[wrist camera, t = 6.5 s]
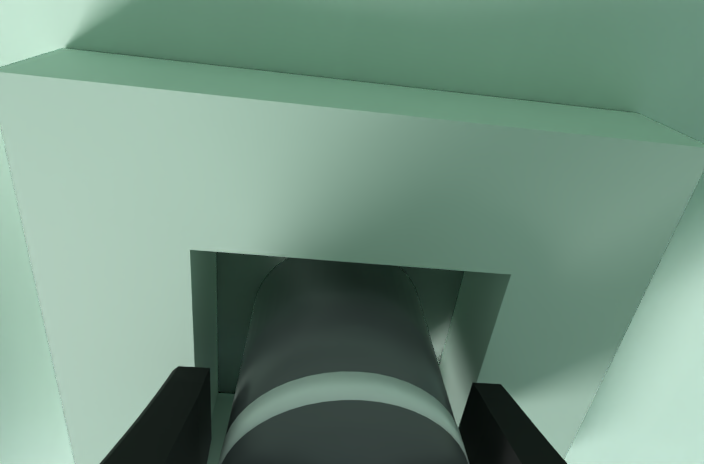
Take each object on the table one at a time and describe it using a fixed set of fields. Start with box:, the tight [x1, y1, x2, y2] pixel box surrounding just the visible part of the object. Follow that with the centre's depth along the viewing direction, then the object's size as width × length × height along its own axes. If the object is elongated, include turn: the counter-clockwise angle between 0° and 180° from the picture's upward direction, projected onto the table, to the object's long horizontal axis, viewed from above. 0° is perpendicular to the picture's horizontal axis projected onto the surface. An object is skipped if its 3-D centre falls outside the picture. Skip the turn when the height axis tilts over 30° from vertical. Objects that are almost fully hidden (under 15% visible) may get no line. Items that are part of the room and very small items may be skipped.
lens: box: [219, 257, 469, 464], centre depth 11 cm, size 4×4×6 cm
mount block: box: [0, 48, 704, 464], centre depth 12 cm, size 12×12×2 cm
